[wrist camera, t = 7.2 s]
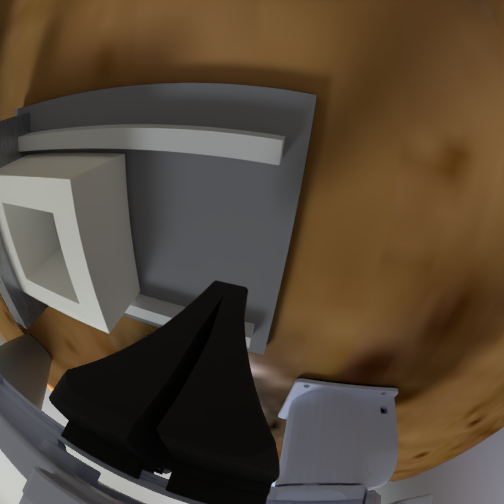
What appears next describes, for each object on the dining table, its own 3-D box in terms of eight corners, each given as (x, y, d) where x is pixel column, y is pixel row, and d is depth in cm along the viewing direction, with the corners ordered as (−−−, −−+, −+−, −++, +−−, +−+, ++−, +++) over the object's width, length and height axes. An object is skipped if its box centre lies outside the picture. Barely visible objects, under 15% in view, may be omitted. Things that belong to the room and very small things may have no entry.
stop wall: (29, 112, 11) (-35, 135, 7) (64, 288, 20) (27, 329, 15) (16, 115, 12) (-43, 138, 7) (51, 282, 20) (15, 320, 15)
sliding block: (124, 153, 12) (70, 179, 9) (140, 291, 17) (109, 333, 14) (30, 153, 13) (-14, 175, 10) (53, 261, 18) (22, 291, 15)
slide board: (316, 95, 10) (317, 94, 8) (265, 346, 19) (260, 368, 17) (22, 107, 12) (2, 113, 10) (55, 281, 21) (43, 293, 19)
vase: (35, 358, 38) (-19, 443, 18) (0, 305, 31) (-70, 400, 10) (82, 385, 36) (25, 490, 15) (43, 331, 28) (-38, 456, 8)
